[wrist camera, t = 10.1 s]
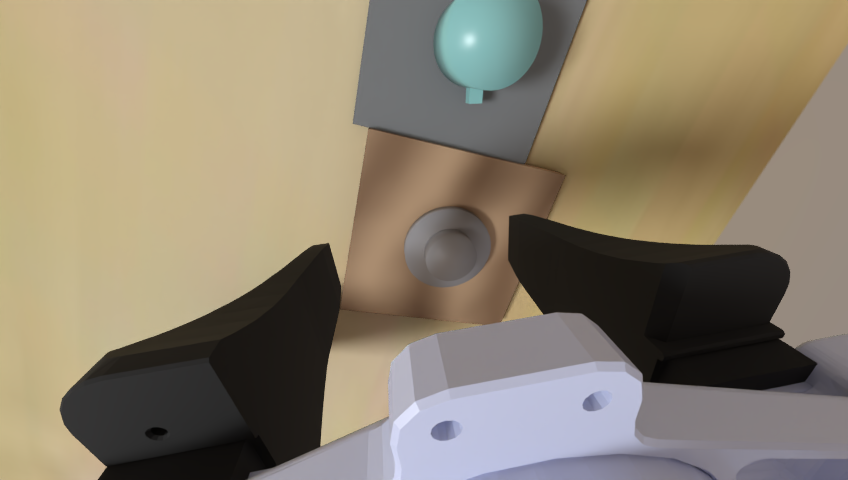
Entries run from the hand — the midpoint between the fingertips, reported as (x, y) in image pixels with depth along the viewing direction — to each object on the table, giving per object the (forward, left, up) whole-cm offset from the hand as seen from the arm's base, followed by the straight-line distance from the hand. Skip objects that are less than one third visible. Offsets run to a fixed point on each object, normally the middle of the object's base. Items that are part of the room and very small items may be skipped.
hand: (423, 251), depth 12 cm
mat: (-2, -9, -10) cm, 14 cm away
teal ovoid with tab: (-2, -9, -10) cm, 14 cm away
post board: (-4, +4, -10) cm, 12 cm away
